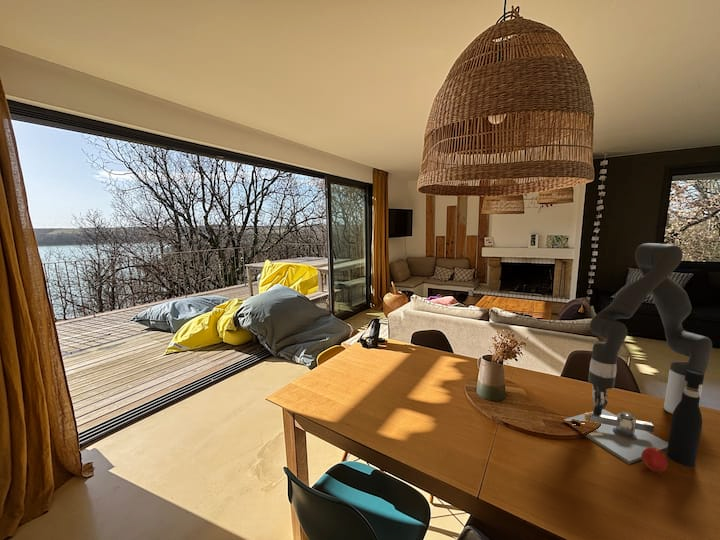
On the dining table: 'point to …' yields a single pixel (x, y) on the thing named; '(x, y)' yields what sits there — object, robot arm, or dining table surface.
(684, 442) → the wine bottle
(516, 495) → the dining table surface
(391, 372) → the dining table surface
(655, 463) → the onion
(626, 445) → the board
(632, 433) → the silver knobbed bar
